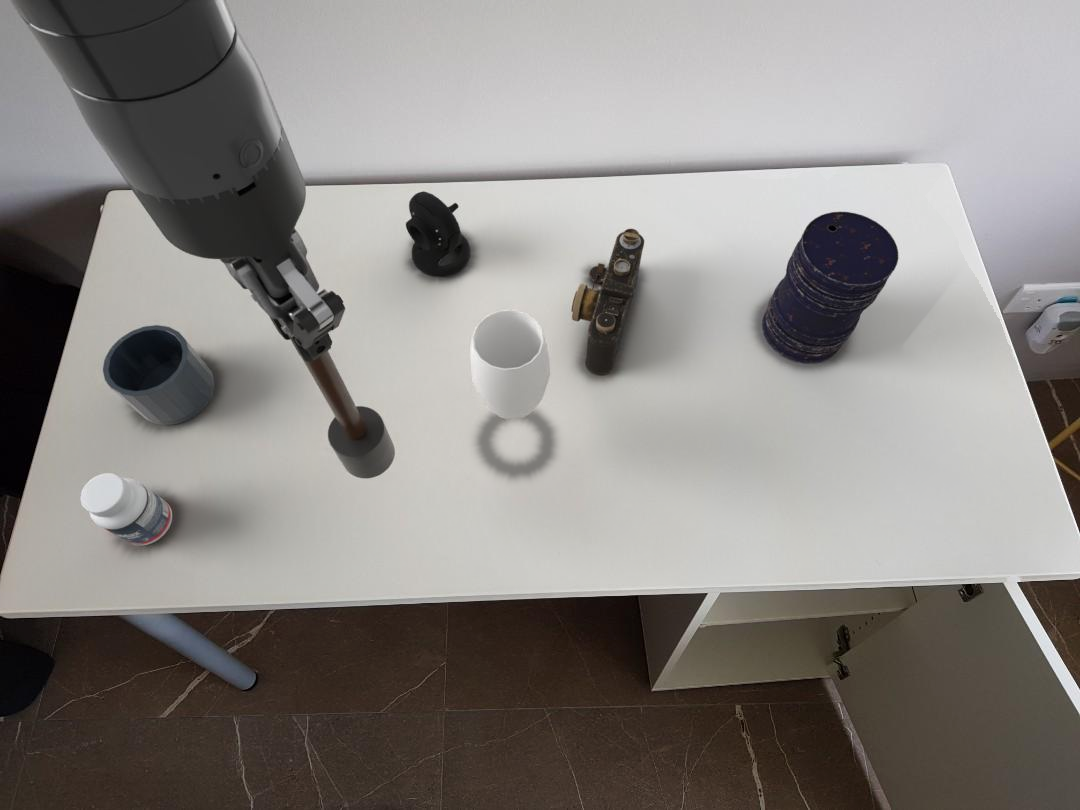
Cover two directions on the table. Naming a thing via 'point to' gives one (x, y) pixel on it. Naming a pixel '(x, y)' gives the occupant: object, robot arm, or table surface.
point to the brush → (352, 424)
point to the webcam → (435, 235)
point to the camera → (609, 301)
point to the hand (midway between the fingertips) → (307, 340)
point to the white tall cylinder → (509, 363)
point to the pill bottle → (126, 508)
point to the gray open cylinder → (159, 375)
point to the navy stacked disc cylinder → (828, 285)
